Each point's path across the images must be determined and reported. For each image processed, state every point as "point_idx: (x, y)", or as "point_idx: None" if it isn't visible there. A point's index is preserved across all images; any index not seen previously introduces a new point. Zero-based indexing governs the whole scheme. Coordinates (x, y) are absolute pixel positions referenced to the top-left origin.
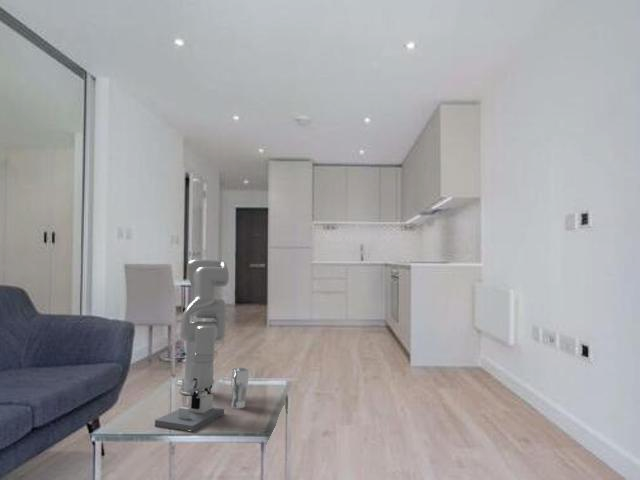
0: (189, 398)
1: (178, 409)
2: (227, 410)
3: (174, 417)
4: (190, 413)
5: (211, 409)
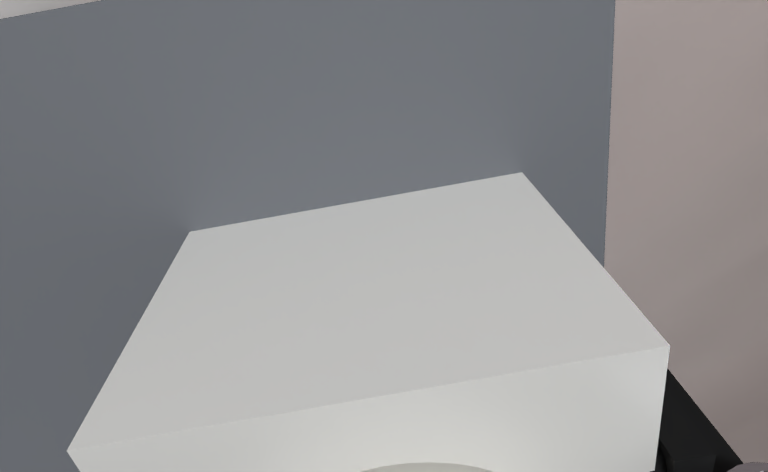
0: (103, 427)
1: (110, 2)
2: (716, 397)
3: None
4: None
5: None
